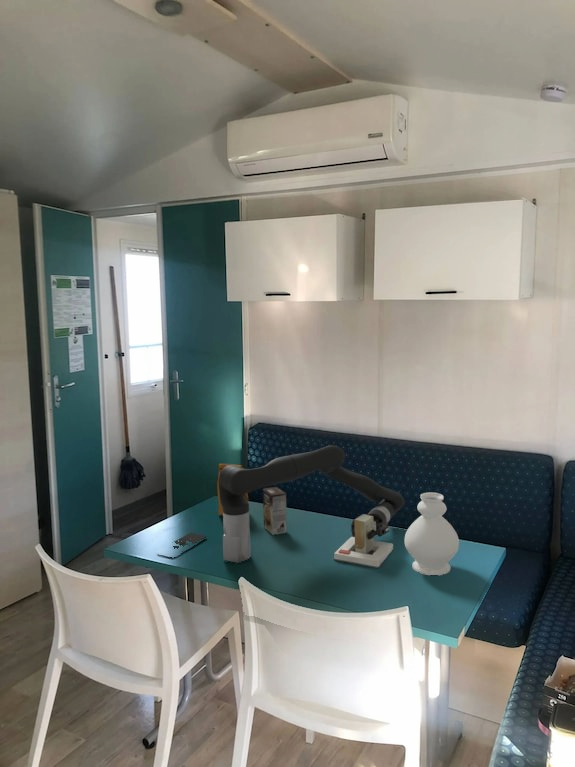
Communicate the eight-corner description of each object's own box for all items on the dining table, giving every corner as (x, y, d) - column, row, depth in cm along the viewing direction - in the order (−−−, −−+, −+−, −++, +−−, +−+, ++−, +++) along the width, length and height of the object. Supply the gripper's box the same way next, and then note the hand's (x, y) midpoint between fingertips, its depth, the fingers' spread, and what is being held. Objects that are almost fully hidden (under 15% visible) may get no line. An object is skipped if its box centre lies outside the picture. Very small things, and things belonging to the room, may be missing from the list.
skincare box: (363, 545, 230) (363, 513, 228) (374, 548, 227) (374, 515, 225) (354, 552, 225) (353, 518, 223) (364, 555, 222) (364, 521, 220)
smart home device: (155, 551, 231) (190, 532, 248) (156, 555, 232) (190, 536, 249) (173, 555, 227) (207, 535, 244) (173, 560, 228) (207, 540, 245)
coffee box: (263, 527, 254) (261, 488, 252) (278, 524, 257) (276, 486, 254) (272, 535, 246) (271, 495, 244) (287, 532, 249) (286, 492, 246)
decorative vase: (394, 561, 221) (394, 491, 217) (438, 552, 227) (439, 484, 223) (423, 583, 204) (423, 508, 200) (469, 573, 210) (471, 500, 206)
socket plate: (378, 568, 216) (378, 559, 215) (334, 560, 223) (334, 551, 222) (392, 550, 230) (392, 542, 229) (351, 543, 237) (351, 535, 236)
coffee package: (241, 520, 262) (239, 468, 259) (215, 517, 267) (213, 466, 264) (252, 512, 271) (250, 462, 268) (226, 509, 276) (224, 459, 273)
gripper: (359, 506, 240) (341, 522, 225) (396, 511, 234) (380, 528, 219) (359, 525, 241) (342, 542, 227) (396, 531, 235) (380, 549, 220)
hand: (361, 535), depth 223 cm, fingers closed on skincare box, 5 cm apart
